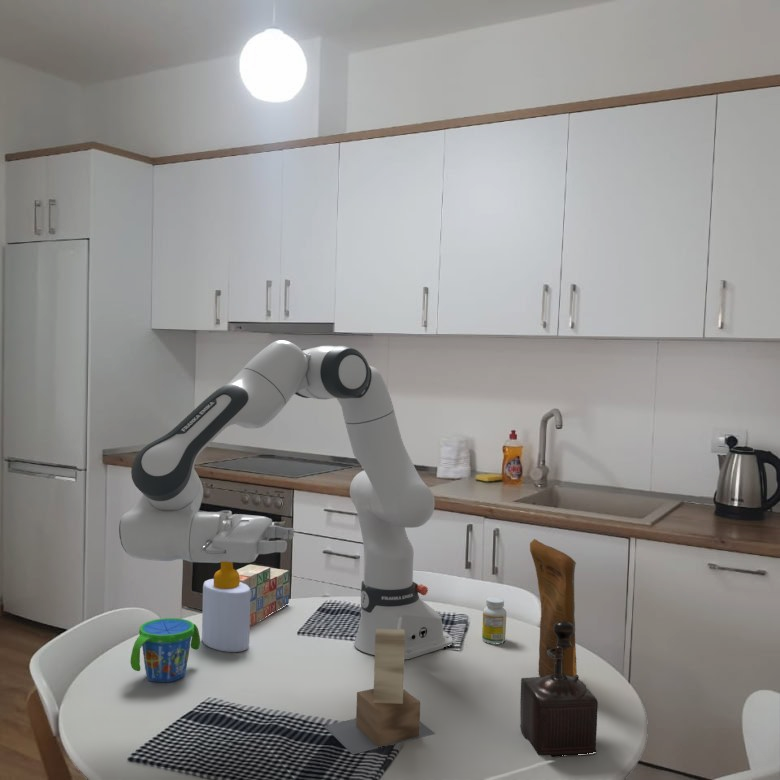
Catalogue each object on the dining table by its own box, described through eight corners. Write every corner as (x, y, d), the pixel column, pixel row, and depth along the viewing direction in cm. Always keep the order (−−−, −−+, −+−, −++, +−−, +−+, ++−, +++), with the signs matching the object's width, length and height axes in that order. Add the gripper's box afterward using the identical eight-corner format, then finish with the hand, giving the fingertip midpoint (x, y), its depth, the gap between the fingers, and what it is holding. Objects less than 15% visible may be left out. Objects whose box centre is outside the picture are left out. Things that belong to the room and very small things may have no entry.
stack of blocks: (268, 602, 206) (269, 555, 206) (289, 606, 204) (290, 558, 203) (219, 627, 187) (220, 575, 186) (241, 631, 184) (242, 579, 184)
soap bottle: (258, 646, 175) (261, 555, 174) (228, 656, 169) (230, 562, 168) (222, 631, 184) (224, 544, 183) (192, 640, 177) (193, 550, 177)
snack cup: (184, 658, 167) (184, 610, 167) (214, 672, 160) (215, 623, 160) (116, 680, 155) (116, 628, 155) (145, 696, 149) (146, 643, 148)
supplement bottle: (497, 646, 179) (498, 604, 179) (477, 640, 183) (478, 599, 182) (509, 640, 183) (511, 599, 183) (490, 634, 187) (491, 594, 186)
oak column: (374, 690, 139) (375, 628, 139) (402, 691, 139) (404, 629, 139) (373, 702, 134) (375, 638, 134) (402, 703, 134) (404, 639, 134)
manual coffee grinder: (601, 755, 132) (606, 648, 131) (537, 758, 130) (541, 650, 129) (567, 712, 147) (571, 617, 146) (509, 715, 145) (513, 618, 145)
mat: (402, 709, 146) (402, 707, 146) (435, 735, 137) (435, 733, 137) (323, 727, 138) (323, 725, 138) (352, 756, 129) (352, 754, 129)
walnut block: (395, 716, 142) (396, 683, 142) (419, 736, 135) (420, 701, 135) (356, 725, 138) (357, 692, 138) (378, 746, 132) (379, 710, 131)
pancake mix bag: (553, 704, 150) (558, 558, 149) (522, 665, 169) (527, 535, 168) (587, 703, 151) (593, 558, 150) (553, 664, 170) (558, 535, 169)
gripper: (198, 532, 130) (282, 535, 130) (224, 508, 151) (297, 510, 151) (197, 570, 131) (281, 573, 130) (224, 541, 151) (296, 543, 151)
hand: (290, 539), depth 141 cm, fingers open, 8 cm apart
